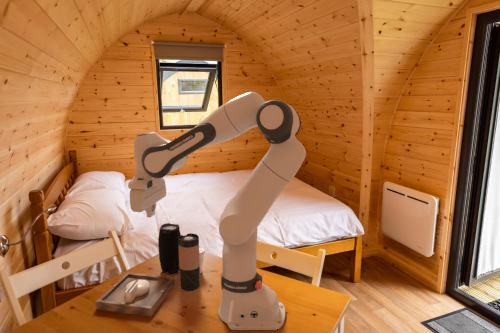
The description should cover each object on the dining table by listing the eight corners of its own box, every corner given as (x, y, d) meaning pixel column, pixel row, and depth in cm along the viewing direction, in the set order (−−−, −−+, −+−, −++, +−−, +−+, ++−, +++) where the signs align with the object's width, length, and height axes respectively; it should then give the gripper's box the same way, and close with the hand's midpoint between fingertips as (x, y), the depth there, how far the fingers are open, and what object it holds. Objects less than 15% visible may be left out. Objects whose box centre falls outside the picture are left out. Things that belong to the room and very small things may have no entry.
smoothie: (203, 275, 137) (203, 243, 134) (188, 275, 137) (187, 243, 134) (206, 268, 143) (205, 237, 141) (191, 268, 143) (190, 237, 141)
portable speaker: (160, 266, 144) (158, 223, 141) (182, 264, 146) (181, 221, 143) (159, 276, 136) (156, 230, 133) (182, 274, 138) (181, 229, 134)
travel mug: (196, 292, 125) (194, 242, 121) (176, 290, 127) (174, 240, 123) (203, 282, 132) (201, 234, 129) (184, 280, 134) (182, 232, 130)
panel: (175, 284, 131) (175, 276, 130) (151, 316, 111) (150, 307, 111) (127, 279, 134) (127, 271, 134) (96, 309, 115) (95, 300, 114)
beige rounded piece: (132, 283, 127) (131, 273, 126) (153, 285, 126) (152, 274, 125) (117, 301, 115) (116, 290, 115) (139, 303, 115) (139, 292, 114)
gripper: (154, 171, 129) (155, 206, 132) (125, 185, 109) (127, 225, 112) (169, 172, 128) (171, 207, 131) (143, 186, 108) (145, 226, 111)
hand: (150, 216), depth 121 cm, fingers closed
